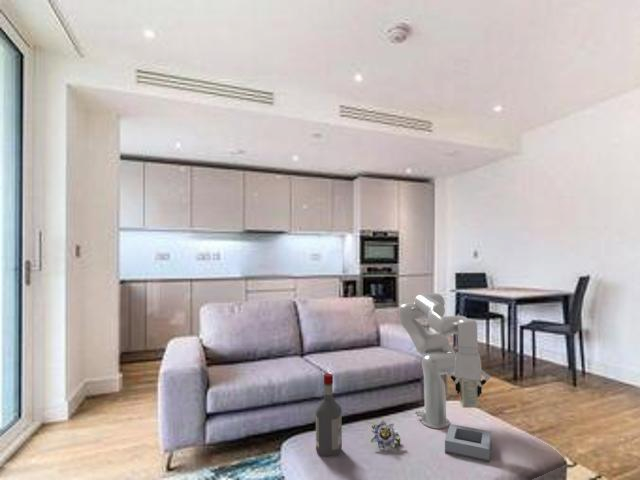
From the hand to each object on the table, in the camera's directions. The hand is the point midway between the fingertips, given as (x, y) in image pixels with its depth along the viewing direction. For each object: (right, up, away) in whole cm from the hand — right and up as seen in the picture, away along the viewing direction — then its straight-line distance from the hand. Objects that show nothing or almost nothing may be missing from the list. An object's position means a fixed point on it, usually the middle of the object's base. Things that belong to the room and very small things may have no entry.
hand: (468, 393), depth 156 cm
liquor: (-57, -22, -2) cm, 61 cm away
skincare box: (0, -5, 0) cm, 5 cm away
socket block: (0, -22, -1) cm, 22 cm away
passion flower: (-34, -22, +2) cm, 40 cm away
